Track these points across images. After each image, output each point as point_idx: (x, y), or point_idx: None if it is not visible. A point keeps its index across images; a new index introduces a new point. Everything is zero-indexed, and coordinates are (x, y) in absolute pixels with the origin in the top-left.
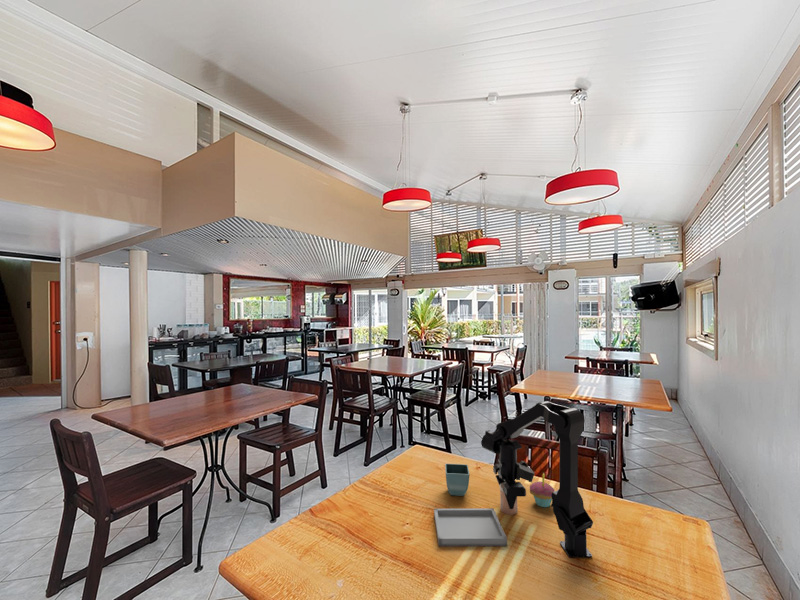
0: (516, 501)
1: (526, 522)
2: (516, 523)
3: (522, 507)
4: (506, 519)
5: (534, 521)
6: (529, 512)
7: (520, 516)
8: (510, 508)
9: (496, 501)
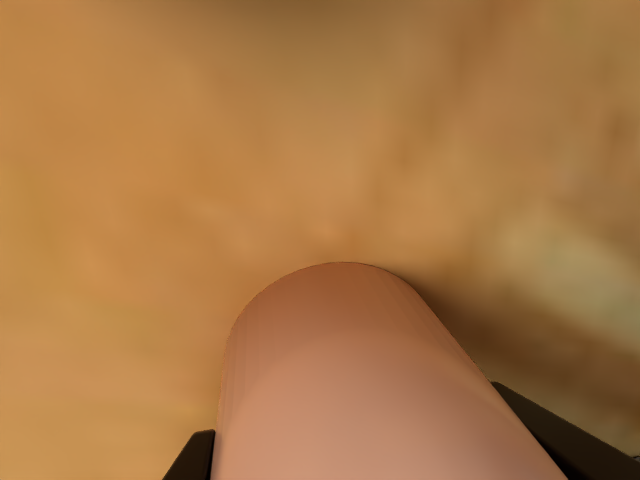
0: (492, 390)
1: (609, 198)
2: (602, 312)
3: (244, 168)
4: None
5: (612, 81)
6: (387, 88)
7: (479, 245)
8: None
9: (134, 477)
